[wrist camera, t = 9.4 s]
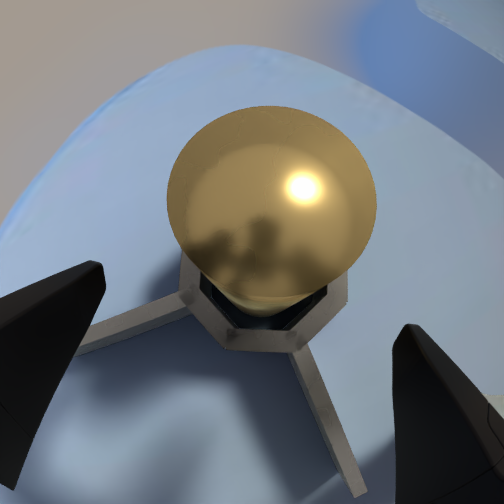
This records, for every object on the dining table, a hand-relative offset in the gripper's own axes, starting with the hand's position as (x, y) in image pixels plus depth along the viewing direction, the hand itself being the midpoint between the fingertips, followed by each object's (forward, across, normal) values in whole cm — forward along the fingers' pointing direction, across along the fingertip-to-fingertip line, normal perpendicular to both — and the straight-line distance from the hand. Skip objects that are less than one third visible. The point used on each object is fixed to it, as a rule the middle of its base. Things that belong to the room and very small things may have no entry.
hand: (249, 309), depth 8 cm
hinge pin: (+9, 0, +5) cm, 10 cm away
